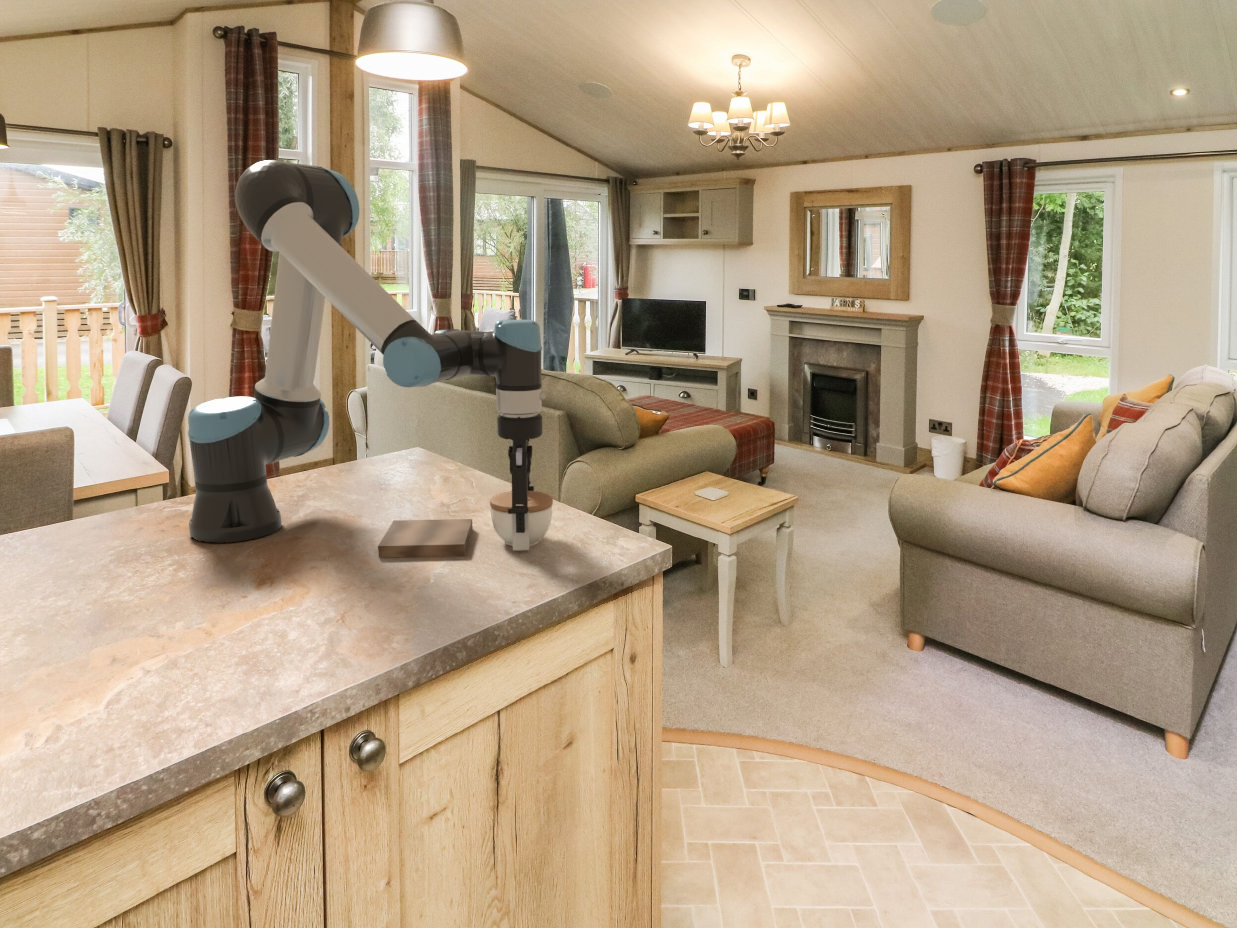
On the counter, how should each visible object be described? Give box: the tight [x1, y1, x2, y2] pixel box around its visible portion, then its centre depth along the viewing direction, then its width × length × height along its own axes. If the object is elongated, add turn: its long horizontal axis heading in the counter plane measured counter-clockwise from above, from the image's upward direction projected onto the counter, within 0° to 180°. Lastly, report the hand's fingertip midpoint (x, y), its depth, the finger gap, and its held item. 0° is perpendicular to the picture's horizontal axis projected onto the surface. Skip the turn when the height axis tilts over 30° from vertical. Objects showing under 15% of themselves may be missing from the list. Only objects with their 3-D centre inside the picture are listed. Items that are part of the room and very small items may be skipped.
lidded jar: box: [489, 490, 554, 547], centre depth 144 cm, size 11×11×9 cm
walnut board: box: [377, 518, 474, 559], centre depth 144 cm, size 14×14×2 cm
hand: (522, 538), depth 145 cm, fingers closed on lidded jar, 11 cm apart
